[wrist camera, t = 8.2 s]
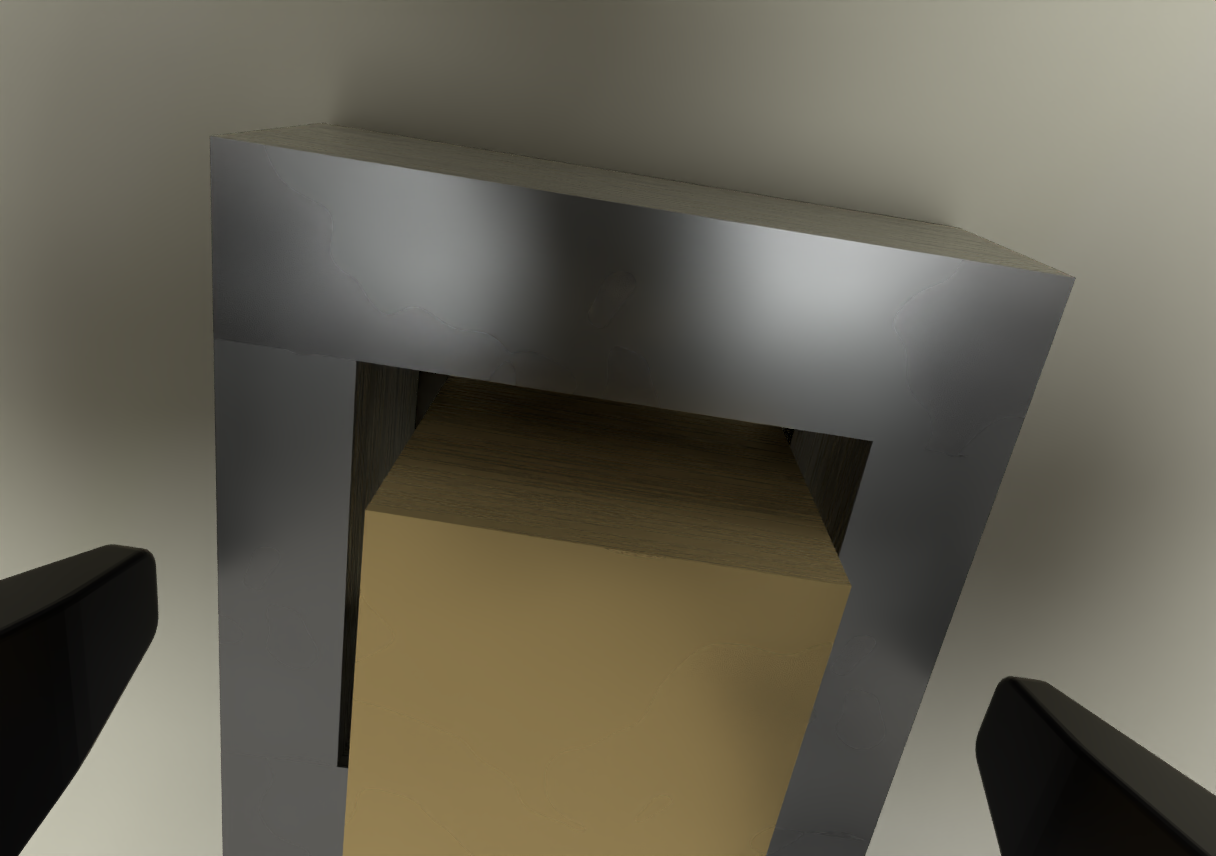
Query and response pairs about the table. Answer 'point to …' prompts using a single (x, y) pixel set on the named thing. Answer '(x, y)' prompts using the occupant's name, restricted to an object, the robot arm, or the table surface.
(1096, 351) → the table surface
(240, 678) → the grey slotted block
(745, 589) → the brass block
